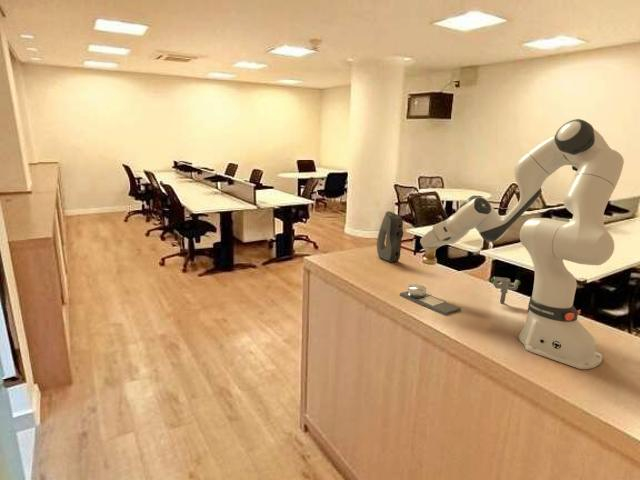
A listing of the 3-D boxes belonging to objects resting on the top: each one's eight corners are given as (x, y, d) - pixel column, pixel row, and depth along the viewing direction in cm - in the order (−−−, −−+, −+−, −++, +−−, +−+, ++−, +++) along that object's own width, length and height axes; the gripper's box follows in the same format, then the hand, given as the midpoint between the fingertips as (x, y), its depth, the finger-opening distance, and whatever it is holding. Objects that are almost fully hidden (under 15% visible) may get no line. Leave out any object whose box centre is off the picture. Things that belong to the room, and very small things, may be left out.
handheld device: (392, 264, 206) (397, 214, 200) (371, 256, 218) (375, 209, 212) (401, 262, 209) (405, 214, 203) (380, 254, 221) (383, 209, 215)
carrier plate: (460, 310, 152) (461, 300, 151) (445, 315, 147) (446, 305, 146) (415, 291, 169) (416, 282, 169) (399, 295, 164) (400, 285, 163)
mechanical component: (516, 306, 159) (521, 281, 156) (489, 302, 161) (492, 278, 158) (515, 303, 162) (519, 279, 159) (487, 300, 164) (491, 276, 161)
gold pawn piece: (439, 263, 166) (441, 242, 164) (430, 265, 163) (432, 243, 161) (428, 260, 171) (430, 239, 169) (419, 261, 167) (421, 240, 165)
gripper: (465, 220, 163) (442, 239, 173) (431, 224, 151) (409, 244, 161) (473, 234, 161) (449, 252, 171) (440, 239, 149) (416, 258, 159)
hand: (429, 248), depth 166 cm, fingers closed on gold pawn piece, 4 cm apart
